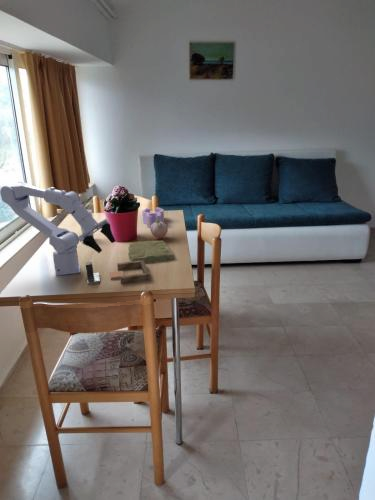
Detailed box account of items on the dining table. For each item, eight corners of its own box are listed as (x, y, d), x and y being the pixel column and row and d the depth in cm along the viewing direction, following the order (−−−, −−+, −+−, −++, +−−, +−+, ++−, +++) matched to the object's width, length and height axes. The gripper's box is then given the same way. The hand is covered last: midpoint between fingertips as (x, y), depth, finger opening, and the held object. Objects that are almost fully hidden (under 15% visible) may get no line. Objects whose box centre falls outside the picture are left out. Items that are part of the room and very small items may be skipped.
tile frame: (121, 284, 140) (120, 278, 139) (117, 268, 154) (117, 263, 153) (150, 280, 143) (149, 274, 142) (144, 265, 156) (143, 260, 155)
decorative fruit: (170, 240, 185) (170, 221, 182) (155, 243, 182) (154, 223, 179) (163, 235, 193) (162, 216, 190) (149, 237, 190) (147, 218, 186)
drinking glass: (96, 240, 188) (92, 212, 182) (82, 242, 185) (78, 213, 180) (94, 236, 194) (90, 208, 188) (81, 238, 191) (77, 210, 186)
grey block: (88, 284, 140) (85, 267, 138) (87, 276, 148) (85, 259, 145) (100, 283, 141) (98, 266, 139) (99, 274, 149) (97, 258, 146)
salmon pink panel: (111, 281, 144) (110, 277, 143) (110, 275, 148) (109, 272, 148) (124, 279, 145) (123, 275, 145) (122, 274, 150) (122, 270, 149)
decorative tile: (164, 245, 180) (163, 238, 179) (173, 260, 162) (173, 253, 160) (125, 250, 175) (124, 243, 174) (130, 266, 157) (130, 258, 156)
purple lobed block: (165, 227, 206) (165, 215, 203) (143, 229, 204) (142, 217, 202) (163, 218, 224) (162, 206, 222) (142, 219, 223) (142, 208, 220)
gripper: (74, 223, 134) (98, 252, 136) (102, 206, 144) (124, 233, 145) (67, 231, 139) (91, 259, 141) (94, 214, 149) (116, 240, 150)
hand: (107, 246), depth 143 cm, fingers open, 7 cm apart
